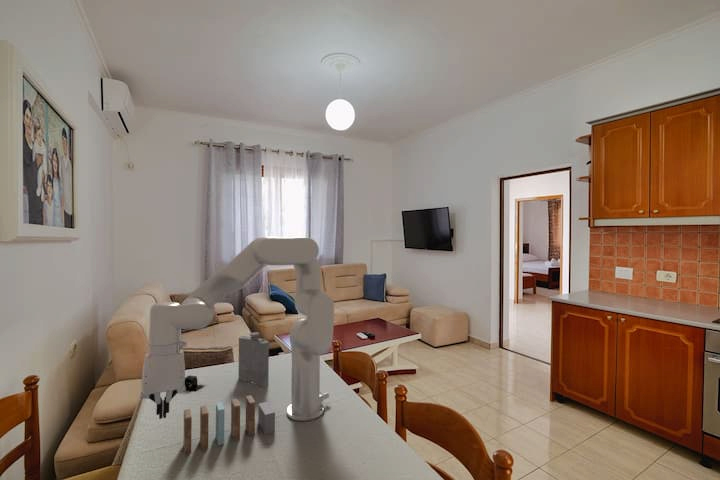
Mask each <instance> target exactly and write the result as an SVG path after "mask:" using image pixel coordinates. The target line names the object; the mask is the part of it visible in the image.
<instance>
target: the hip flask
mask: <svg viewBox="0 0 720 480" xmlns="http://www.w3.org/2000/svg"><path fill="white" fill-rule="evenodd" d="M249 335H250V336H247V335H246V336H245V335H244V336H243V335H242V336H239V337H238V380H239V381H243V380H245V381H244V382H248V381H249V382H248V383H251V382H253V383H252V384H254V383H256V384H255V385H257V384H258V385H257V386H259V385H260V387H261V386H262V387H261V388H266V387H268V386H269V372H270V371H269V369H270V367H269V365H270V364H269V363H270V361H269V359H270V357H269V355H270V351H269V349H270V347H269V346H270V342H269V341H268V340H266V339H263V338H260V333H259V332H257V331H255V332H251V333H249ZM267 385H268V386H267ZM265 386H266V387H265Z"/></svg>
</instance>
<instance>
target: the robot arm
mask: <svg viewBox="0 0 720 480" xmlns="http://www.w3.org/2000/svg"><path fill="white" fill-rule="evenodd" d="M319 247H320V246H319V245H318V243H317V242H316V241H315V240H314V239H313V238H311V237H307V236H306V237H305V236H304V237H303V236H302V237H301V236H293V237H292V236H291V237H279V236H278V237H277V236H260V237H256V238H255V239H253V240H252V241H251V242H250V243H249V244H248V245H246V247H245V248H243V249H242V250H241V251H240V252H239V253H238V254H237V255H236V256H235V257H233V258H232V260H231V261H230V262H228V263H227V264H226V265H225V266H224V267H222V268H221V269H219V270H218V271H217V272H216V273H214V274H213V275H211V276H210V277H209V278H207V279H206V280H205V281H204V282H203V283H201V284H200V285H199V286H198V287H197V288H196V289H194V290H193V291H192V292H191V294H189V295H188V296H187V297H186V298H185V299H184V300H183V301H182V303H179V302H176V301H163V302H161V301H160V302H157V303H154V304H153V305H151V307H150V309H149V311H150V312H149V329H148V330H149V336H148V337H149V339H148V353H146V354H145V356H144V359H143V365H142V366H143V367H142V374H141V391H140V395H139V399H141V400H142V399H144V400H145V399H146V400H147V399H148V400H150V401H152V402H154V403H155V405H156V410H155V411H156V413H155V414H156V416H159V420H161V419H167V414H169V413H170V402H171V401H172V399H173V398H174V397H175V396H177V394H180V393H183V392H185V391H187V390H186V388H185V377H186V365H185V364H186V363H185V354H184V350H183V348H186V347H187V341H182V339H181V338H182V330H184V329H185V330H199V329H203V328H205V327H208V326H209V325H210V324H211V323H212V321H213V318H214V311H213V308H212V307H214V305H216V304H217V303H218V302H219V301H220V300H222V299H223V298H224V297H226V296H227V295H229V294H232V293H234V292H238V291H240V290H241V289H243V288H245V287H246V286H247V285H248V284H249V283H250V282H251V281H252V280H253V279H254V278H255V277H256V276H257V275H259V274H260V273H261V272H262V270H264V268H265V267H267V266H293V267H294V271H295V282H296V283H295V295H294V296H295V297H294V305H295V306H294V307H295V310H296V311H297V313H299V314H301V315H302V316H304V317H306V318H299V319H298V320H296V321H295V322H294V323H293V324H292V326H291V328H290V330H289V341H290V342H289V344H290V349H291V397H290V398H291V403H290V404H289V405H288V406H287V407H286V415H287V417H288V418H290V419H291V420H294V421H298V422H300V421H301V422H306V421H307V422H308V421H311V420H315V419H317V418H319V417H321V416H322V415H323V414H324V411H325V406H324V404H323V403H322V402H323V401H324V400H326V399H328V398H329V397H330V394H329V392H327V391H326V392H324V393H321V392H320V391H321V390H320V388H321V387H320V384H321V383H320V380H321V379H320V378H321V376H320V371H321V355H323V354H325V353H327V352H328V351H329V349H330V348H331V346H332V344H333V343H332V342H333V338H334V324H335V323H334V322H335V304H334V301H333V299H332V297H331V295H330V294H329V293H328V292H326V291H324V290H322V271H321V270H322V269H321V265H320V263H319V260H318V256H319V252H320V248H319ZM161 393H166V394H165V397H164V399H163V398H162V397H161Z"/></svg>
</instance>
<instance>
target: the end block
mask: <svg viewBox="0 0 720 480" xmlns="http://www.w3.org/2000/svg"><path fill="white" fill-rule="evenodd" d="M257 411H258V413H257V414H258V417H257V423H258V425H259V426H260V428H261V430H262V431H263V433H264V434H263V435H268V434H272V433H275V432H276V411H275V410H274V409H273V406H271V404H270V403H269V401H265V402H259V403H258V409H257Z"/></svg>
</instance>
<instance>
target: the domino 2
mask: <svg viewBox="0 0 720 480" xmlns="http://www.w3.org/2000/svg"><path fill="white" fill-rule="evenodd" d="M199 407H200V408H199V409H200V411H199V412H200V413H199V415H200V416H199V417H200V419H199V428H200V429H199V443H200V447H201V450H202V451H203V450H207V449H209V409H208V405H206V404H205V405H201V406H199Z"/></svg>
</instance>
